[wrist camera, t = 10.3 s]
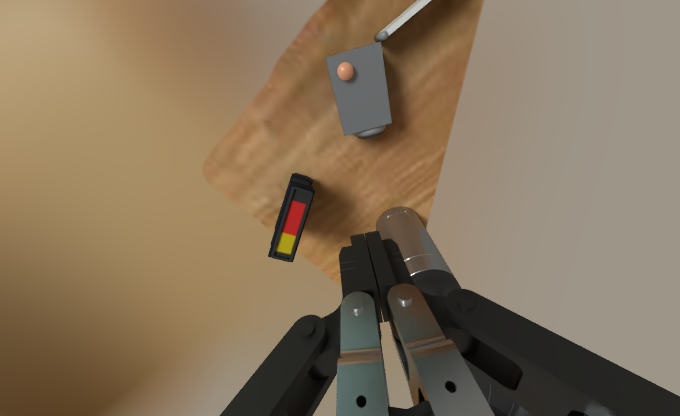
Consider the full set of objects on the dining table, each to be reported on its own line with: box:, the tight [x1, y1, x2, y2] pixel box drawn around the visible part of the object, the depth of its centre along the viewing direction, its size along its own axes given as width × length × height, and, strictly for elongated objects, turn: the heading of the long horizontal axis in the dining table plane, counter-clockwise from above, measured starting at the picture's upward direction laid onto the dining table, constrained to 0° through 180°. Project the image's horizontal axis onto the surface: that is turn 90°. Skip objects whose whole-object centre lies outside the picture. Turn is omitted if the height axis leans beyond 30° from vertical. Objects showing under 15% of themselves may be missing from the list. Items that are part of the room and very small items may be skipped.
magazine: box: [268, 173, 315, 262], centre depth 43 cm, size 4×13×15 cm, turn 158°
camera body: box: [325, 42, 392, 138], centre depth 36 cm, size 12×7×7 cm, turn 14°
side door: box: [374, 0, 431, 42], centre depth 31 cm, size 12×1×5 cm, turn 126°
